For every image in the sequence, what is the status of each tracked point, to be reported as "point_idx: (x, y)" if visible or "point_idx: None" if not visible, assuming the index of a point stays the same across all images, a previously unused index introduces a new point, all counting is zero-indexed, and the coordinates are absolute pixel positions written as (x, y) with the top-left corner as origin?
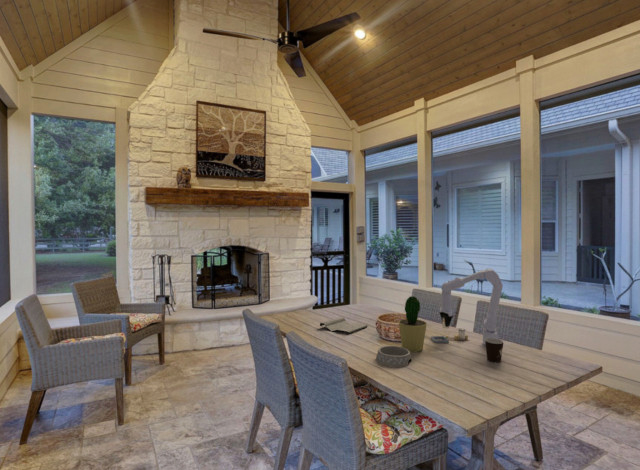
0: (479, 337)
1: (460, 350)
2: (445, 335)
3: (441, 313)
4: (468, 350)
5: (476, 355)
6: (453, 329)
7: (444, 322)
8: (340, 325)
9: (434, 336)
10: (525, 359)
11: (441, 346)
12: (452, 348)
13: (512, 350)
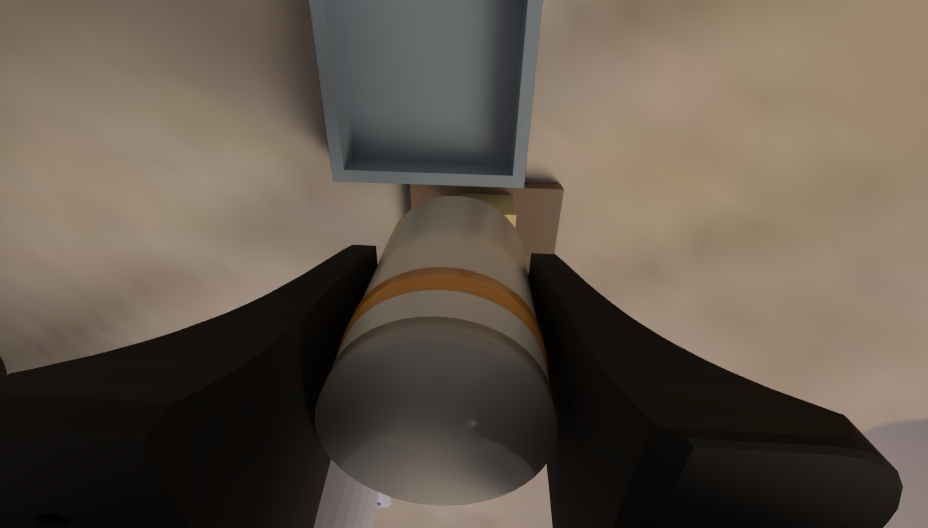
0: (543, 487)
1: (132, 200)
2: (511, 211)
3: (636, 474)
4: (158, 277)
5: (22, 282)
6: (845, 415)
7: (384, 275)
8: None
9: (526, 23)
10: None
11: (235, 18)
12: (182, 140)
13: None
